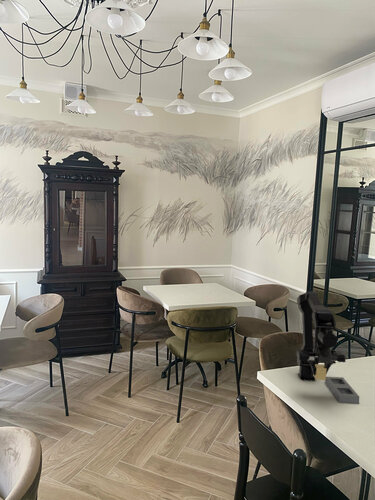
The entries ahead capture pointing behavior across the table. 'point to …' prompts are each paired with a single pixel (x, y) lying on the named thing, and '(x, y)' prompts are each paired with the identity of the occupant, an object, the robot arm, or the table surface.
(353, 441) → the table surface
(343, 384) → the grey slotted block
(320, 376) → the brass block
